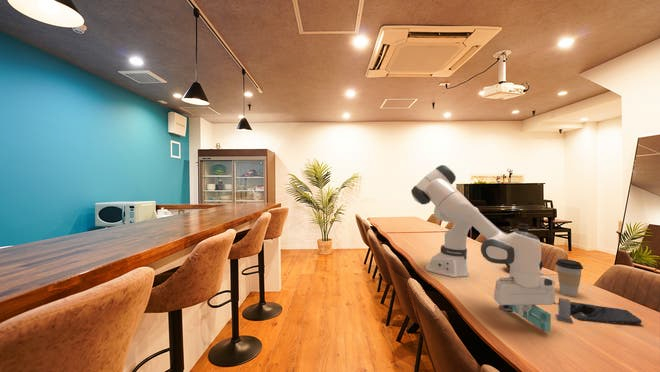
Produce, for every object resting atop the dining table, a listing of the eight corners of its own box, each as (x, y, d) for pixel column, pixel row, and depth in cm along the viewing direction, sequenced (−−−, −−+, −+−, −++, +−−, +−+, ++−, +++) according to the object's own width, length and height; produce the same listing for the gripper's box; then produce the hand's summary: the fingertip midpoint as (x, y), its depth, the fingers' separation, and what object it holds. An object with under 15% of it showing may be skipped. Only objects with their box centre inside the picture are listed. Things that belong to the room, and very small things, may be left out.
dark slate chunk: (651, 331, 91) (651, 318, 91) (573, 320, 98) (573, 308, 98) (618, 310, 106) (619, 299, 106) (552, 302, 113) (553, 291, 112)
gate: (508, 308, 103) (509, 293, 103) (513, 308, 103) (513, 293, 103) (545, 332, 87) (545, 314, 87) (550, 331, 87) (550, 314, 87)
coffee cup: (587, 299, 115) (589, 265, 115) (563, 297, 117) (564, 264, 116) (572, 290, 124) (573, 259, 124) (550, 288, 126) (550, 257, 126)
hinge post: (498, 309, 105) (499, 285, 105) (499, 304, 109) (499, 281, 109) (514, 313, 102) (514, 288, 102) (513, 308, 106) (514, 283, 106)
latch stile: (557, 319, 98) (557, 300, 97) (555, 315, 101) (556, 296, 100) (572, 323, 95) (573, 303, 95) (570, 319, 98) (571, 299, 98)
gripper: (502, 281, 89) (501, 320, 90) (559, 281, 90) (557, 320, 91) (490, 274, 96) (489, 311, 96) (543, 274, 97) (542, 311, 97)
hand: (523, 315), depth 93 cm, fingers closed
